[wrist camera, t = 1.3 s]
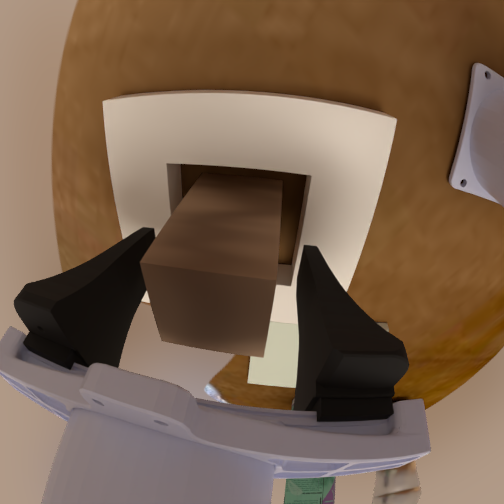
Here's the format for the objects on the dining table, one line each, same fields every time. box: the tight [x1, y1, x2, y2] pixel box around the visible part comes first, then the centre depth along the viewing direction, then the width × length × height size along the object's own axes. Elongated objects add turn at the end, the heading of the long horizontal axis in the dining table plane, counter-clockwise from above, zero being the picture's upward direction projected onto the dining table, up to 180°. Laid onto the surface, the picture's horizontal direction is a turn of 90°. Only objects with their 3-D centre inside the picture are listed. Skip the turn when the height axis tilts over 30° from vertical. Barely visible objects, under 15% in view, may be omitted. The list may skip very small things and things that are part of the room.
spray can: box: [284, 398, 335, 504], centre depth 23 cm, size 6×6×20 cm
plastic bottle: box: [372, 402, 421, 504], centre depth 23 cm, size 6×7×20 cm
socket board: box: [103, 90, 397, 324], centre depth 16 cm, size 14×14×2 cm
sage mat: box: [248, 321, 389, 388], centre depth 24 cm, size 11×11×1 cm
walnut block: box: [140, 173, 283, 358], centre depth 13 cm, size 4×4×8 cm
